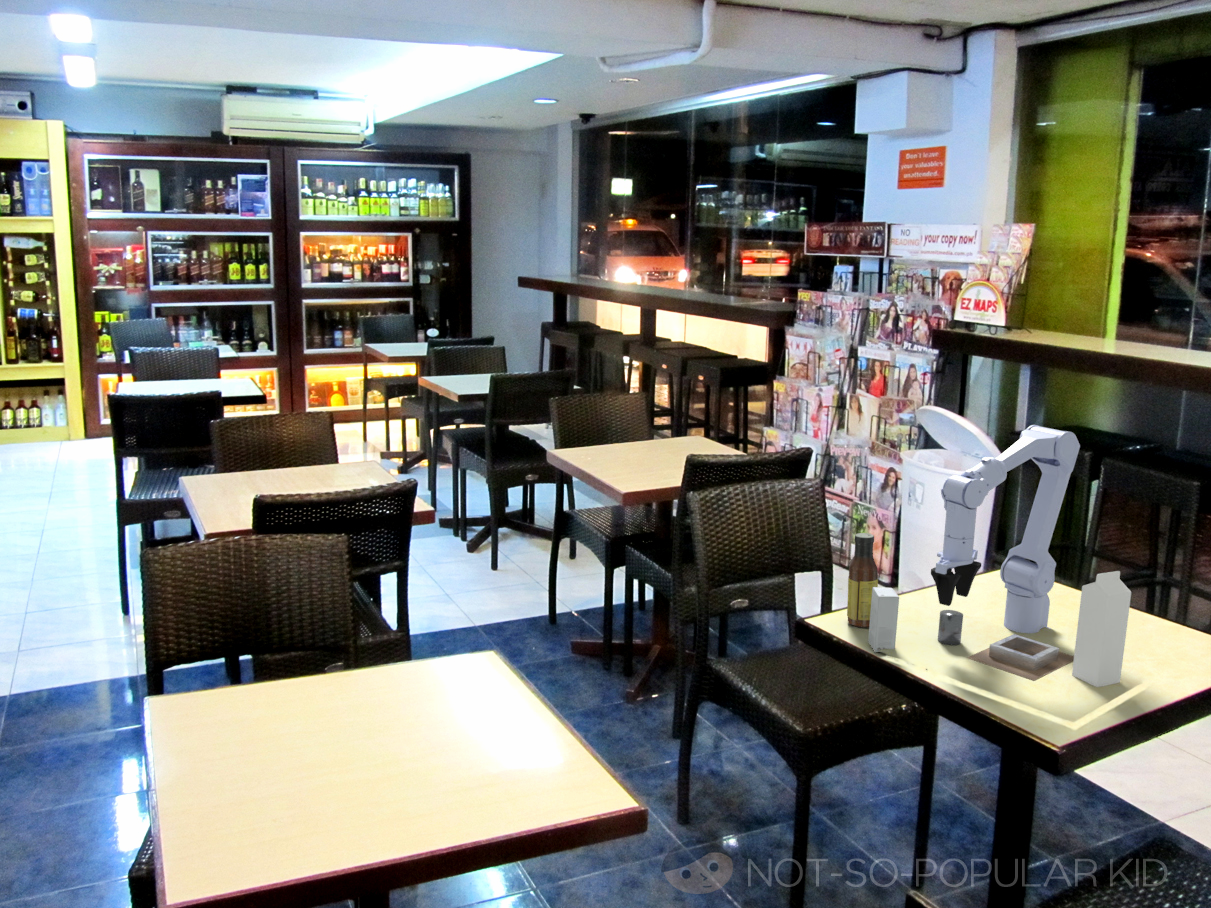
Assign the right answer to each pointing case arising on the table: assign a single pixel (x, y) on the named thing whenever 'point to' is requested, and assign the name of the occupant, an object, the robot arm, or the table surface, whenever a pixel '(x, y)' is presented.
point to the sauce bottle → (861, 581)
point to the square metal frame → (1006, 653)
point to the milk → (1102, 630)
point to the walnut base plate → (1020, 671)
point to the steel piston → (950, 627)
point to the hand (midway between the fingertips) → (953, 599)
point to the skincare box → (883, 618)
